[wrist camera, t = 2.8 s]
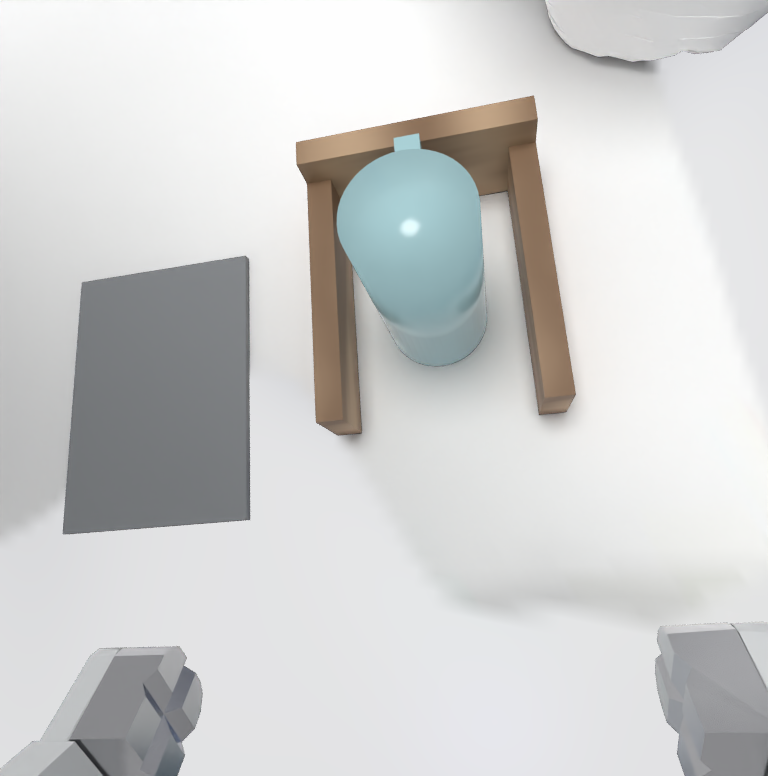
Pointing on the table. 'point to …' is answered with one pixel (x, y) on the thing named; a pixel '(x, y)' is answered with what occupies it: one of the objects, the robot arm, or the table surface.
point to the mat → (161, 400)
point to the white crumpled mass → (652, 25)
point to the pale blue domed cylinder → (419, 250)
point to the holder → (491, 175)
